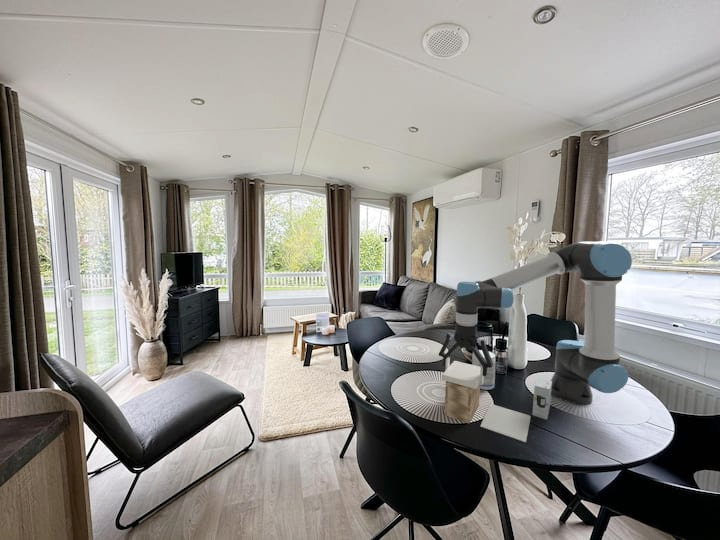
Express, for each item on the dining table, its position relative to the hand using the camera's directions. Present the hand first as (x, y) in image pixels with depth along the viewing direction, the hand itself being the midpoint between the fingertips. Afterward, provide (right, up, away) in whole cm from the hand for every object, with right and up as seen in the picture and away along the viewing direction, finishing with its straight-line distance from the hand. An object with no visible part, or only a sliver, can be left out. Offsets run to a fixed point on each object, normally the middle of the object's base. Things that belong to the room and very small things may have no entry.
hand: (463, 378), depth 111 cm
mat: (+13, -13, -6) cm, 20 cm away
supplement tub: (+16, -11, +21) cm, 28 cm away
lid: (0, +1, 0) cm, 1 cm away
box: (0, -12, +1) cm, 13 cm away
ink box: (+30, -13, 0) cm, 32 cm away
